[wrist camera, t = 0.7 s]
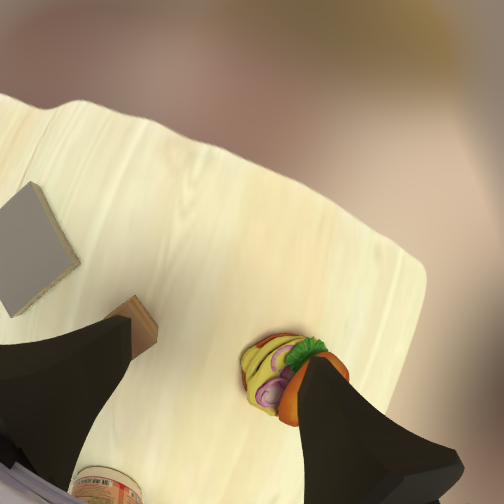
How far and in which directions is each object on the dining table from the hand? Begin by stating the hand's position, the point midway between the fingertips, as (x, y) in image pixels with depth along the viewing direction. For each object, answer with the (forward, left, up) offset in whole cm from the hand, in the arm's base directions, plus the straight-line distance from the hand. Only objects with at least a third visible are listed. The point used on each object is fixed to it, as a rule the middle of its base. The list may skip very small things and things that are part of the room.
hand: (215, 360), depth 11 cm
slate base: (-12, +14, -20) cm, 27 cm away
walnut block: (-6, +1, -19) cm, 20 cm away
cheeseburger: (+4, -14, -20) cm, 24 cm away
